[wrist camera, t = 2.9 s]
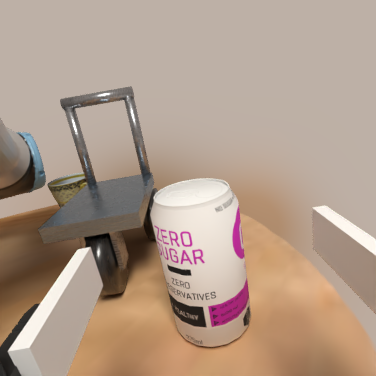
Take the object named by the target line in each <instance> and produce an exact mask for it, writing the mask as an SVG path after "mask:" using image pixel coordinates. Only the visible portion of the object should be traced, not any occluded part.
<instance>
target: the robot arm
mask: <svg viewBox="0 0 376 376" xmlns="http://www.w3.org/2000/svg"><path fill="white" fill-rule="evenodd" d="M45 182H46V177H45V172H44V168H43V163H42V159H41V156H40V153H39V150H38V147H37V145H36V142H35V141H34V139H33V137H32V136H31V134H29V133H21V132H18V133H16V132H14V131H12V130H11V129H9V128H6V127H5V125H4V124H3V122H2V120H1V119H0V199H4V198H8V197H12V196H15V195H19V194H23V193H28V192H29V193H30V192H32V191H33V190H36V189H39V188H42V187H43V186H44V185H45ZM312 220H313V249H314V250H315V251H316V252H317V253H318V254H319V255H320V256H321V257H322V258H323V260H324V261H325V262H326V263H327V264H328V265H329V266H330V267H331V268H332V269H333V270H334V271H335V272H336V273H337V274H338V275H339V276H340V277H341V278H342V279H343V280H344V282H345V283H346V284H347V285H348V286H349V287H350V288H351V289H352V290H353V291H354V292H355V293H356V294H357V295H358V296H359V297H360V298H361V299H362V300H363V301H364V302H365V303H366V305H367V306H368V307H370V309H371V310H372V311H373V312H374V313H375V314H376V239H374V238H373V237H372V236H370V235H368V234H367V233H366V232H364V231H363V230H361V229H360V228H358V227H357V226H355V225H354V224H352V223H351V222H349V221H348V220H346V219H345V218H343V217H342V216H340V215H339V214H337V213H336V212H334V211H333V210H331V209H330V208H328V207H327V206H319V207H314V208H312ZM102 288H103V283H102V280H101V277H100V274H99V271H98V268H97V265H96V262H95V259H94V256H93V253H92V250H91V247H87V248H82V249H78V250H77V251H76V252H75V254H74V255H73V257H72V258H71V260H70V261H69V263H68V264H67V266H66V267H65V269H64V270H63V271H62V273H61V274H60V276H59V277H58V279H57V280H56V282H55V283H54V285H53V286H52V287H51V289H50V290H49V292H48V293H47V295H46V296H45V298H44V299H43V301H42V302H41V303H39V304H35V305H34V306H33V307H31V308H30V309H29V310H28V311H27V312H26V313H25V314H24V315H23V316H22V318H21V319H20V321H19V322H18V325H16V326H15V327H14V329H13V330H12V333H10V334H9V336H8V337H7V338H6V340H5V341H4V342H3V344H2V345H1V347H0V376H67V374H68V371H69V369H70V366H71V364H72V361H73V359H74V357H75V354H76V352H77V349H78V347H79V344H80V342H81V339H82V337H83V334H84V332H85V329H86V327H87V324H88V322H89V320H90V317H91V315H92V312H93V310H94V307H95V305H96V302H97V300H98V297H99V295H100V292H101V290H102Z"/></svg>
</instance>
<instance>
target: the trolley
mask: <svg viewBox="0 0 376 376" xmlns="http://www.w3.org/2000/svg"><path fill="white" fill-rule="evenodd" d="M120 100H124V101H125V105H126V109H127V114H128V118H129V122H130V126H131V131H132V135H133V139H134V143H135V148H136V152H137V156H138V161H139V165H140V169H141V175H135V176H130V177H124V178H118V179H112V180H107V181H101V182H96V180H95V176H94V172H93V169H92V165H91V162H90V159H89V155H88V152H87V149H86V145H85V142H84V138H83V135H82V132H81V128H80V125H79V121H78V118H77V114H76V111H75V108H80V107H86V106H92V105H97V104H103V103H109V102H114V101H120ZM60 102H61V106H62V108H63V109H64V110H65V113H66V116H67V120H68V122H69V126H70V129H71V133H72V136H73V139H74V142H75V146H76V149H77V152H78V155H79V158H80V162H81V165H82V169H83V172H84V175H85V178H86V182H87V185H86V186H85V187H84V188H82V189H81V190H80V191H79V192H78V193H77V194H76V195H75V196H74V197H73V198H72V199H70V200H69V201H68V202H67V203H66V204H65V205H64V206H63V207H62V208H61V209H60V210H59V211H57V212H56V213H55V214H54V215H53V216H52V217H51V218H50V219H49V220H48V221H47V222H45V223H44V224H43V225H42V226H41V227H40V228H39V229H38V231H39V233H40V236H41V238H42V241H43V243H44V244H47V243H53V242H59V241H64V240H70V239H76V238H79V239H80V242H81V245H82V248H87V247H91V250H92V253H93V256H94V259H95V262H96V265H97V268H98V271H99V274H100V277H101V280H102V283H103V288H102V290H101V292H100V295H99V296H106V295H112V294H118V293H122V292H123V291H124V290H125V288H126V284H127V279H128V257H129V256H128V252H127V249H126V244H125V240H124V237H123V234H122V230H128V229H134V228H140V227H142V226H143V224H144V228H145V231H146V234H147V236H148V238H149V239H150V240H151V239H156V237H155V233H154V229H153V225H152V220H151V216H150V213H151V210H152V206H153V203H154V199H153V198H154V196H155V194H156V193H157V192H158V191H157V189H156V188H154V189H153V185H154V180H153V175H152V173H150V168H149V164H148V160H147V156H146V150H145V146H144V141H143V137H142V132H141V128H140V123H139V119H138V114H137V110H136V105H135V101H134V93H133V89H132V87H126V88H120V89H114V90H109V91H103V92H97V93H92V94H86V95H81V96H75V97H70V98H64V99H61V100H60Z"/></svg>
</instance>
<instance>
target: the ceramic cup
mask: <svg viewBox="0 0 376 376" xmlns="http://www.w3.org/2000/svg"><path fill="white" fill-rule="evenodd" d="M86 185H87V182H86V178H85V175H84V172H83V173H76V174H71V175H67V176H64V177H61V178H58V179H55V180H53V181H51V182H50V183H48V187H49V189H50V191H51V193H52V195H53V197H54V198H55V200H56V201H57V203H58V205H59V206H60V208H62V207H63V206H64V205H65V204H66V203H67V202H68V201H69V200H70V199H72V198H73V197H74V196H75V195H76V194H77V193H78V192H79V191H80V190H81V189H82V188H84V187H85V186H86Z"/></svg>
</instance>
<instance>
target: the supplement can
mask: <svg viewBox="0 0 376 376" xmlns="http://www.w3.org/2000/svg"><path fill="white" fill-rule="evenodd" d="M153 199H154V203H153V206H152V210H151V213H150V216H151V220H152V225H153V229H154V233H155V237H156V242H157V246H158V250H159V254H160V259H161V263H162V267H163V271H164V276H165V280H166V284H167V288H168V293H169V297H170V301H171V305H172V310H173V314H174V318H175V322H176V326H177V329H178V331H179V332H180V334H181V335H182V336H183V337H184V338H185V339H186V340H188V341H190V342H192V343H194V344H196V345H198V346H207V347H215V346H220V345H225V344H228V343H230V342H232V341H233V340H235V339H237V338H238V337H240V336H241V335H242V334H243V332H244V331H245V330H246V329H247V327H248V325H249V322H250V318H251V309H250V301H249V292H248V283H247V274H246V265H245V257H244V248H243V239H242V230H241V222H240V213H239V205H238V200H237V197H236V196H235V194H234V193H233V192H232V190H231V189H230V188H229V184H228V183H227V182H225V181H224V180H219V179H212V178H202V179H192V180H187V181H181V182H178V183H175V184H172V185H169V186H167V187H165V188H162V189H161V190H160V191H158V192H157V193H156V194H155V196H154V198H153Z"/></svg>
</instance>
